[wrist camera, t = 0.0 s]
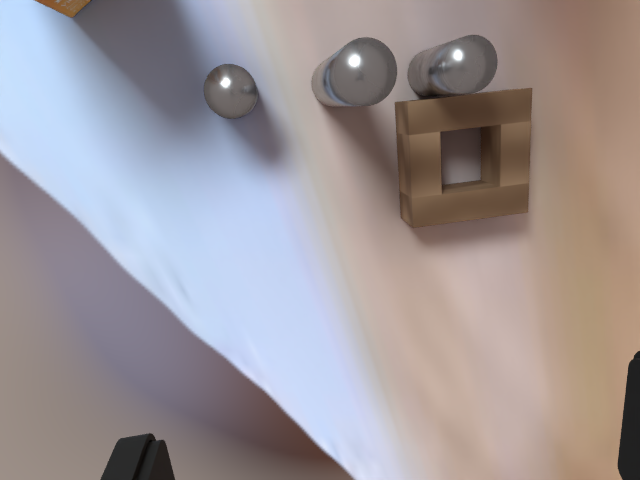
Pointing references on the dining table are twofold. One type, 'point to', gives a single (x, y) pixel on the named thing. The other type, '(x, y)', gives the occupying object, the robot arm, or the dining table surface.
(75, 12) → the small box
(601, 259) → the dining table surface
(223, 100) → the short pin
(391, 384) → the dining table surface
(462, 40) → the medium pin
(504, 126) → the socket block
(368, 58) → the long pin
